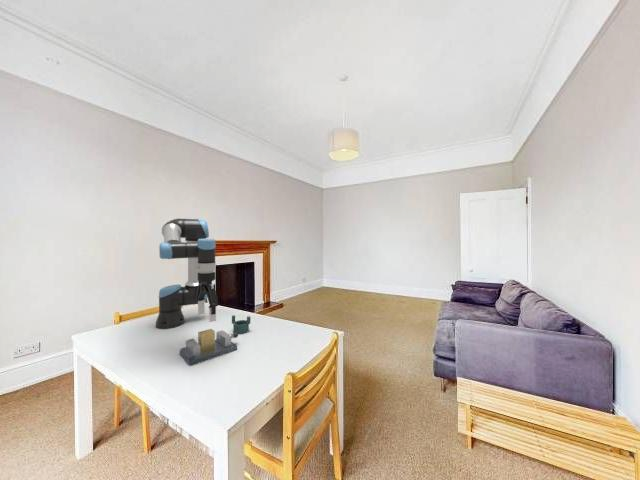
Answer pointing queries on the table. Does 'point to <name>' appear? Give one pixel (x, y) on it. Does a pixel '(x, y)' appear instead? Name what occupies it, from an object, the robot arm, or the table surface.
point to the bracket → (240, 325)
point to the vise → (195, 355)
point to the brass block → (206, 339)
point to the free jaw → (225, 338)
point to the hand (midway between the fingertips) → (206, 317)
